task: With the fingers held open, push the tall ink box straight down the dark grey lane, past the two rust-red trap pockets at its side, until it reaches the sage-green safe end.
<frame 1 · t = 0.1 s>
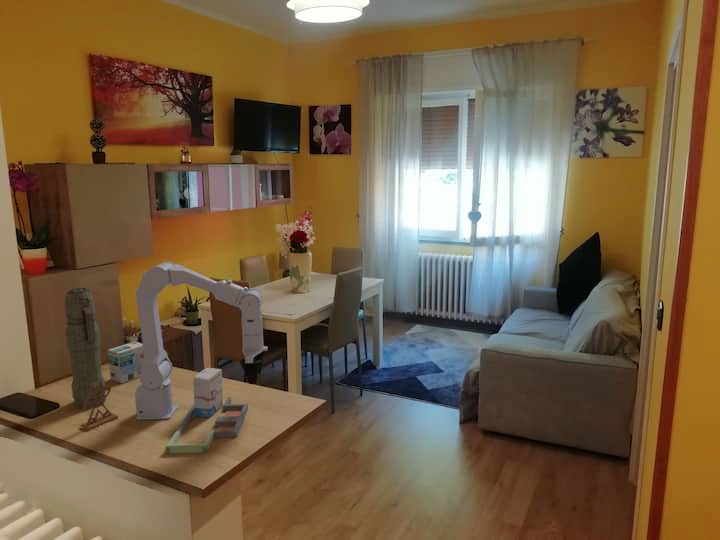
hand: (254, 378, 153), 10 cm above the counter, tool pointing down, fingers open, 7 cm apart
ink box: (209, 411, 156), resting in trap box
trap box: (202, 423, 148), on the counter
light bulb box: (129, 377, 182), on the counter
grey stone statue: (90, 402, 163), on the counter
wooden stand: (99, 423, 149), on the counter
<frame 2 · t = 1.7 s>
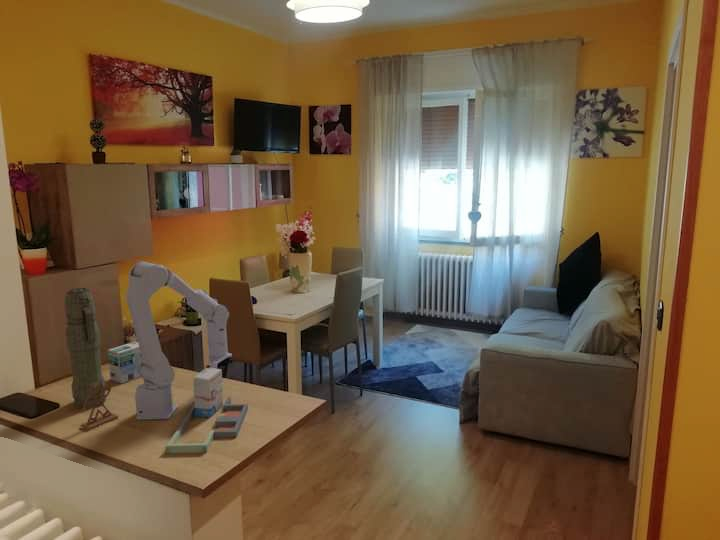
hand: (220, 382, 169), 3 cm above the counter, tool pointing down, fingers open, 7 cm apart
nothing on the counter moved.
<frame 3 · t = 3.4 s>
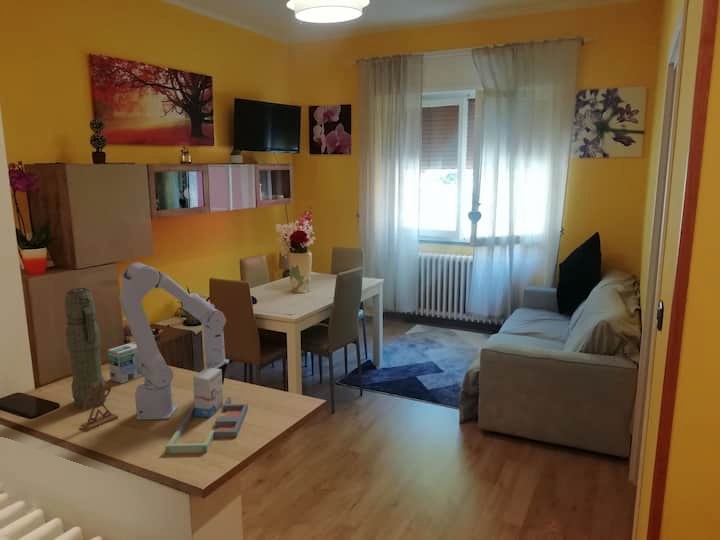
hand: (217, 389, 165), 2 cm above the counter, tool pointing down, fingers open, 6 cm apart
ink box: (209, 411, 156), resting in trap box, touching gripper
everything else where it was.
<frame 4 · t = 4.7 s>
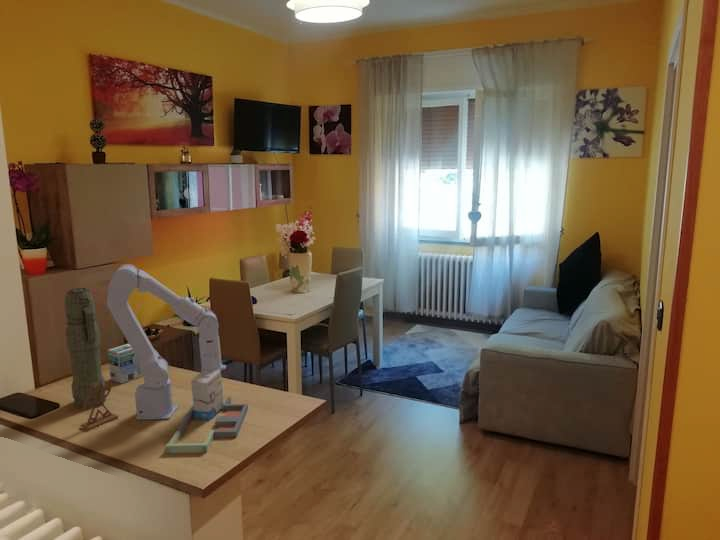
hand: (214, 395, 159), 3 cm above the counter, tool pointing down, fingers closed, pressing on ink box
ink box: (210, 413, 154), resting in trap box, touching gripper
everything else where it was.
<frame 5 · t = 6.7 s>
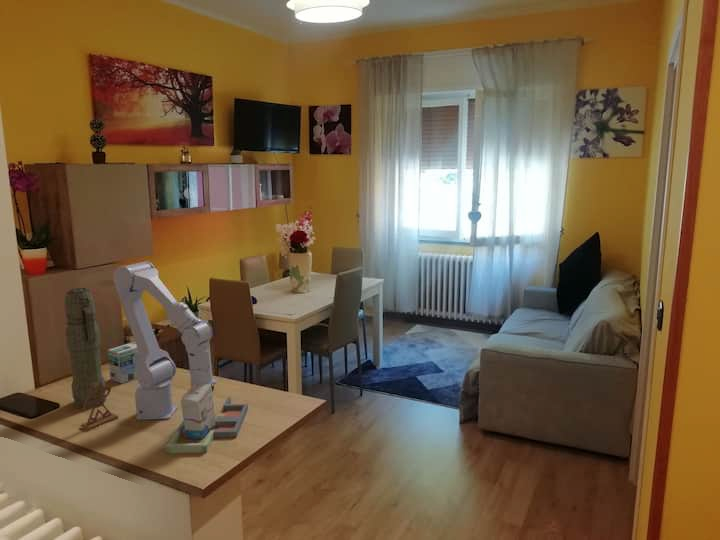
hand: (205, 413, 148), 3 cm above the counter, tool pointing down, fingers closed, pressing on ink box
ink box: (201, 429, 143), resting in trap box, touching gripper
everything else where it was.
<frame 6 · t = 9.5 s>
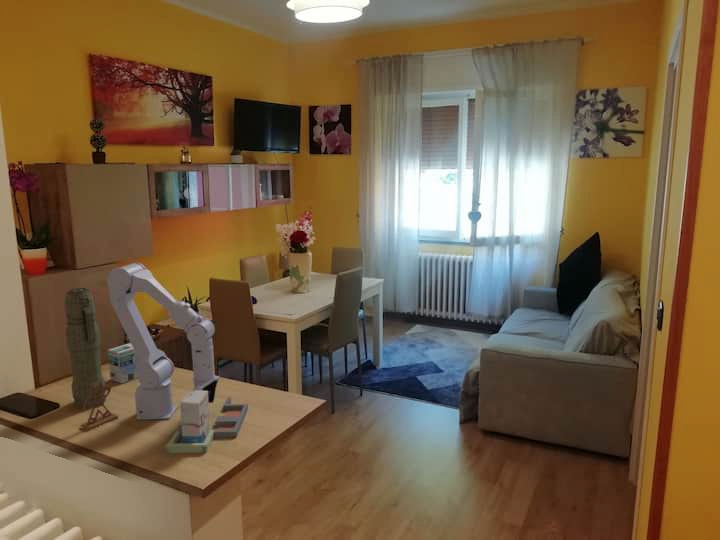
hand: (206, 407, 152), 2 cm above the counter, tool pointing down, fingers open, 7 cm apart
ink box: (197, 438, 140), resting in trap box
everything else where it was.
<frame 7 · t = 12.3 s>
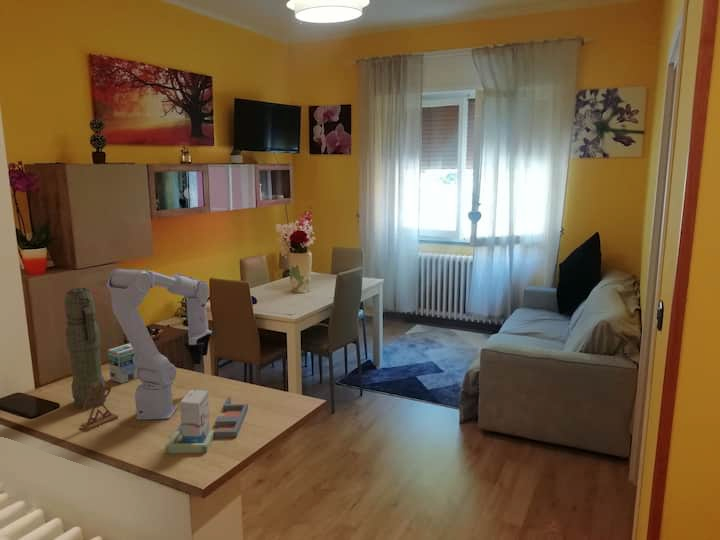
hand: (200, 359, 168), 10 cm above the counter, tool pointing down, fingers open, 7 cm apart
nothing on the counter moved.
at the end: ink box 1.1 cm from the target spot, resting in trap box; ink box tilted 0° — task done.
